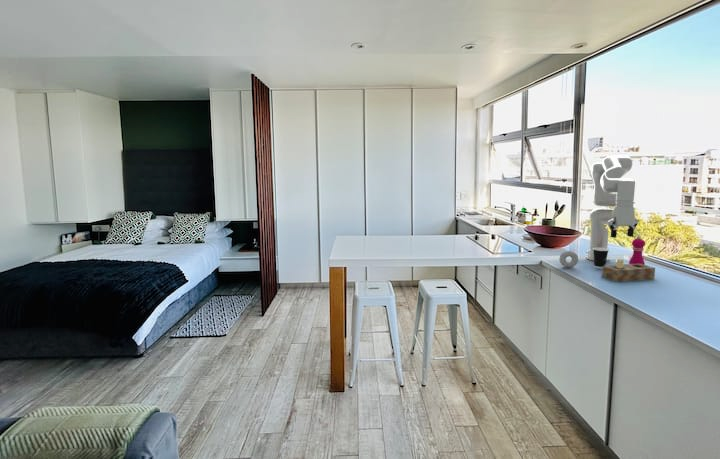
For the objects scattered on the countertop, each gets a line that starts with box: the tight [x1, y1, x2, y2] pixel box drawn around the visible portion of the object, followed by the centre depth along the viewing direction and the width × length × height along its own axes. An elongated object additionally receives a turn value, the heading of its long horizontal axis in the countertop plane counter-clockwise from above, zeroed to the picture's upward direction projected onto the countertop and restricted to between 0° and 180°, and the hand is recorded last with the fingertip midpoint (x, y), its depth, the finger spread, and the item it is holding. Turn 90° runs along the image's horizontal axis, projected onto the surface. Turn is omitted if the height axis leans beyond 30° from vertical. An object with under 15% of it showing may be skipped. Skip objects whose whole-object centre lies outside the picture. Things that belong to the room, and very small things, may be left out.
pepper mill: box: [628, 235, 646, 265], centre depth 229 cm, size 7×7×20 cm
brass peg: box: [615, 258, 624, 269], centre depth 217 cm, size 3×3×10 cm
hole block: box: [601, 263, 656, 283], centre depth 218 cm, size 22×10×6 cm, turn 99°
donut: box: [559, 250, 579, 268], centre depth 241 cm, size 10×3×10 cm, turn 76°
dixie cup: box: [593, 247, 609, 270], centre depth 240 cm, size 8×8×11 cm
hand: (621, 236), depth 214 cm, fingers open, 9 cm apart
